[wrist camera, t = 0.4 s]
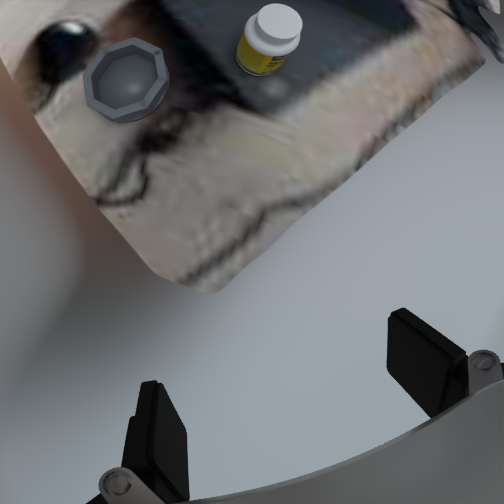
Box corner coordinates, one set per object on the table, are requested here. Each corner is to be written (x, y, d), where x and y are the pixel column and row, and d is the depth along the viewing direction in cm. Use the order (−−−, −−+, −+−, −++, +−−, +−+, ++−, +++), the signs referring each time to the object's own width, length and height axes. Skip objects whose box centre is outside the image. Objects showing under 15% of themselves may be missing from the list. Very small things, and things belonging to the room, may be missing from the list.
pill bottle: (263, 86, 35) (286, 56, 24) (225, 59, 33) (236, 21, 23) (290, 56, 34) (320, 22, 24) (254, 30, 33) (273, -11, 22)
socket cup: (88, 64, 30) (79, 55, 26) (162, 41, 31) (159, 29, 27) (98, 133, 33) (89, 129, 29) (176, 109, 34) (174, 102, 30)
